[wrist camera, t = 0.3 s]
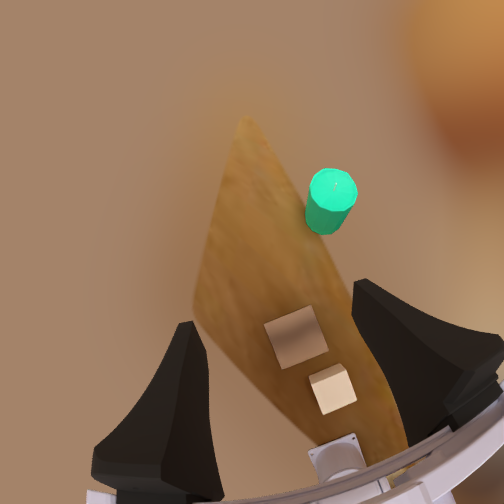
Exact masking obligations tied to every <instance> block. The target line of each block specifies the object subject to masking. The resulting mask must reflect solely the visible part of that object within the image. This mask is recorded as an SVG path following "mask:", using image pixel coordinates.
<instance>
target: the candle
mask: <svg viewBox="0 0 504 504" xmlns="http://www.w3.org/2000/svg"><path fill="white" fill-rule="evenodd" d="M357 195H358V192H357V188H356V186H355V183H354V181H353V180H352V178H351V177H350V176H349V174H348V173H346V172H344V171H341V170H338V169H329V168H324V169H322V170H321V171H319V172H318V173H316V174H315V175H314V177H313V179H312V182H311V184H310V187H309V194H308V199H307V205H306V210H305V218H306V223H307V225H308V226H309V227H310V229H311V230H312V231H314V232H316V233H318V234H320V235H327V234H332V233H333V232H335V231H336V230H338V229H339V228H340V226H341V224H342V223H343V221H344V219H345V218H346V216H347V215H348V213H349V211H350V210H351V208H352V207H353V205H354V203H355V200H356V197H357Z"/></svg>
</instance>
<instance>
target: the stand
mask: <svg viewBox="0 0 504 504" xmlns="http://www.w3.org/2000/svg"><path fill="white" fill-rule="evenodd" d="M264 326H265V329H266V331H267V334H268V336H269V339H270V341H271V344H272V346H273V349H274V351H275V354H276V356H277V359H278V361H279V364H280V366H281V368H282V370H283V369H285V368H288V367H290V366H293V365H296V364H298V363H301V362H303V361H306V360H308V359H311V358H313V357H315V356H318V355H320V354H322V353H325V352H327V351H329V349H328V347H327V344H326V341H325V339H324V336H323V334H322V331H321V329H320V326H319V324H318V321H317V319H316V316H315V314H314V311H313V309H312V306H311V305H309V306H306V307H304V308H301V309H299V310H297V311H294V312H292V313H289V314H287V315H285V316H282V317H280V318H277V319H275V320H272V321H270V322H267V323H265V324H264Z"/></svg>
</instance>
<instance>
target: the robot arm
mask: <svg viewBox="0 0 504 504" xmlns="http://www.w3.org/2000/svg"><path fill="white" fill-rule="evenodd" d="M352 317H353V319H354V322H355V324H356V326H357V328H358V330H359V333H360V334H361V336H362V338H363V339H364V341H365V343H366V344H367V346H368V347H369V349H370V351H371V352H372V354H373V356H374V357H375V359H376V361H377V362H378V364H379V366H380V367H381V369H382V371H383V373H384V375H385V377H386V379H387V381H388V384H389V386H390V388H391V391H392V393H393V396H394V399H395V401H396V404H397V407H398V410H399V413H400V416H401V419H402V422H403V426H404V429H405V433H406V437H407V441H408V446H409V448H408V449H407V450H405V451H403V452H401V453H399V454H396V455H394V456H392V457H390V458H388V459H386V460H384V461H381V462H379V463H377V464H374V465H372V466H370V467H366V464H365V461H364V458H363V455H362V452H361V449H360V446H359V443H358V440H357V438H356V435H355V433H351V434H349V435H346V436H344V437H341V438H339V439H337V440H334V441H331V442H329V443H326V444H324V445H321V446H318V447H315V448H312V449H310V450H309V451H308V455H309V457H310V459H311V461H312V463H313V466H314V468H315V470H316V472H317V475H318V479H319V484H318V485H314V486H310V487H306V488H303V489H299V490H294V491H289V492H285V493H280V494H275V495H270V496H264V497H257V498H250V499H242V500H233V501H221V500H222V499H223V498H224V496H225V495H224V492H223V488H222V484H221V480H220V476H219V472H218V467H217V463H216V458H215V453H214V447H213V441H212V435H211V428H210V420H209V370H208V363H207V362H208V361H207V354H206V349H205V347H204V346H203V343H202V341H201V339H200V336H199V334H198V332H197V330H196V327H195V325H194V323H193V321H188V322H183V323H179V325H178V327H177V329H176V331H175V333H174V336H173V338H172V341H171V343H170V345H169V347H168V350H167V351H166V353H165V356H164V358H163V360H162V362H161V364H160V366H159V368H158V369H157V371H156V373H155V375H154V377H153V379H152V381H151V382H150V384H149V385H148V387H147V389H146V390H145V392H144V393H143V395H142V396H141V398H140V399H139V400H138V402H137V403H136V405H135V406H134V407H133V409H132V410H131V411H130V412H129V414H128V415H127V416H126V417H125V418H124V419H123V421H122V422H121V423H120V424H119V425H118V426H117V427H116V428H115V429H114V430H113V431H112V432H111V433H110V434H109V435H108V436H107V437H106V438H105V439H103V440H102V441H101V442H100V443H99V444H98V445H97V446H95V448H94V452H93V458H92V459H93V460H92V469H91V476H92V477H93V478H94V479H95V480H97V481H99V482H101V483H103V484H105V485H107V486H110V487H112V488H114V489H116V490H117V495H114V494H110V493H105V492H100V491H94V490H89V489H88V490H87V503H86V504H308V503H309V504H456V503H455V500H454V498H453V495H452V493H451V491H450V490H451V489H452V488H454V487H455V486H456V485H458V484H459V483H460V482H462V481H463V480H464V479H465V478H467V477H468V476H469V475H470V474H472V473H473V472H474V471H475V470H476V469H477V468H479V467H480V466H481V465H482V464H483V463H484V462H485V461H486V460H488V459H489V458H490V457H491V456H492V455H493V454H494V453H495V452H496V451H497V450H498V449H499V448H500V447H501V446H502V445H503V444H504V380H503V381H502V382H501V383H500V384H498V383H497V381H496V380H497V379H498V375H497V374H496V370H497V369H498V368H499V366H500V365H501V363H502V362H503V360H504V341H503V339H502V338H501V337H500V336H499V335H498V334H491V333H485V332H479V331H474V330H470V329H466V328H463V327H459V326H456V325H453V324H450V323H447V322H445V321H442V320H439V319H437V318H435V317H433V316H430V315H428V314H426V313H424V312H422V311H420V310H418V309H416V308H414V307H413V306H410V305H409V304H407V303H405V302H404V301H402V300H400V299H399V298H397V297H395V296H394V295H392V294H390V293H389V292H387V291H386V290H384V289H382V288H381V287H379V286H378V285H376V284H374V283H373V282H371V281H369V280H368V279H362V280H358V281H355V282H354V288H353V302H352ZM353 437H355V438H354V439H352V438H353ZM312 453H313V455H311V454H312ZM426 455H427V456H426ZM425 456H426V459H424V460H423V461H421V462H419V463H418V464H416V465H414V466H413V467H411V468H409V469H407V471H406V472H404V473H403V474H402V475H400V476H398V477H397V478H395V479H394V480H393V481H394V484H395V486H396V487H395V488H393V489H391V488H390V485H389V483H388V481H387V478H386V476H388V475H390V474H392V473H394V472H396V471H398V470H400V469H402V468H404V467H406V466H408V465H410V464H412V463H414V462H416V461H418V460H419V459H421V458H423V457H425ZM220 501H221V502H220Z"/></svg>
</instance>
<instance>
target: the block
mask: <svg viewBox="0 0 504 504" xmlns="http://www.w3.org/2000/svg"><path fill="white" fill-rule="evenodd" d="M308 377H309V380H310V383H311V386H312V388H313V391H314V393H315V396H316V398H317V401H318V403H319V406H320V409H321V411H322V414H323V415H324V414H327V413H329V412H332V411H334V410H336V409H339V408H341V407H343V406H346V405H348V404H350V403H352V402H355V401H357V398H356V396H355V393H354V390H353V387H352V384H351V382H350V379H349V376H348V373H347V371H346V369H345V368H344V367H343V366H342V365H341V364H340V363H338V364H336V365H334V366H331V367H329V368H327V369H324V370H322V371H320V372H317V373H315V374H312V375H310V376H308Z"/></svg>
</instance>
